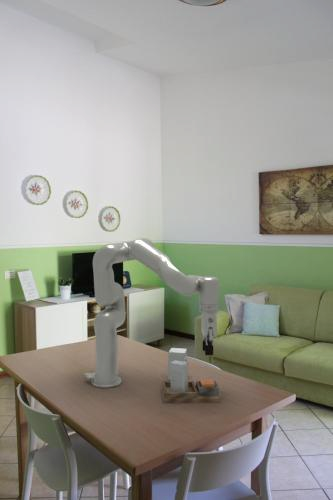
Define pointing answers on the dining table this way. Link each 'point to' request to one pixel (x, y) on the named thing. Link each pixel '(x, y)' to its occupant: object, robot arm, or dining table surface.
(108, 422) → the dining table surface
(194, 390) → the tray
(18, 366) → the dining table surface
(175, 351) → the supplement box
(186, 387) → the skincare box
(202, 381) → the button
